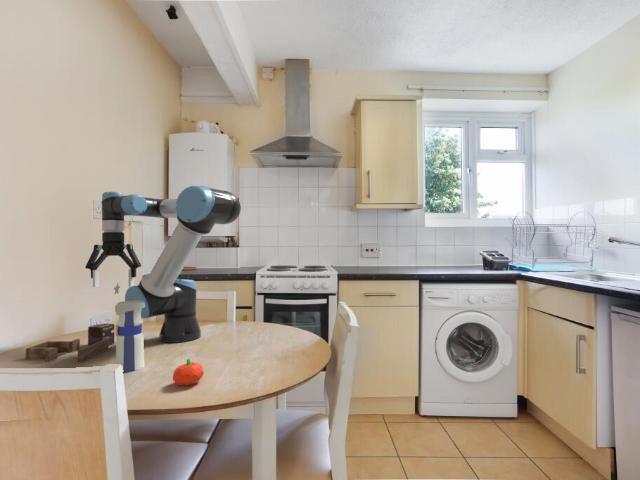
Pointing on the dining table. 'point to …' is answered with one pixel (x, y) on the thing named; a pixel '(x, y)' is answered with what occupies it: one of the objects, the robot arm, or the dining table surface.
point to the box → (100, 333)
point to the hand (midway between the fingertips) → (113, 286)
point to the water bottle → (129, 335)
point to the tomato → (188, 373)
